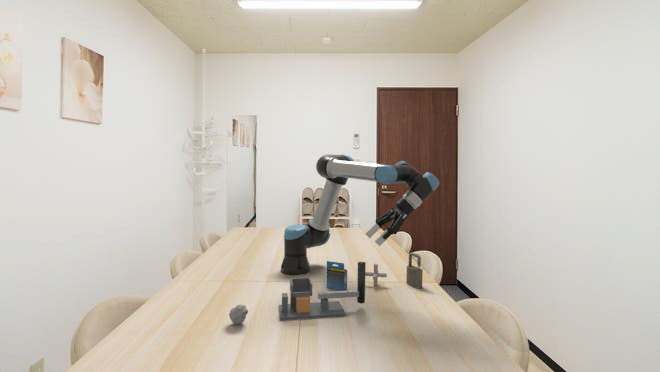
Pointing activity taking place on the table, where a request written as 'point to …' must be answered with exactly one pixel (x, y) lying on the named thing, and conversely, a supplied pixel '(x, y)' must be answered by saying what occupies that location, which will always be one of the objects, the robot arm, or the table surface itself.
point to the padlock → (414, 272)
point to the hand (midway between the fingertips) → (371, 239)
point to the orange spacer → (303, 304)
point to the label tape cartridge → (336, 276)
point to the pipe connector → (375, 274)
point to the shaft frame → (317, 309)
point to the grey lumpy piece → (238, 314)
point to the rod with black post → (350, 293)
